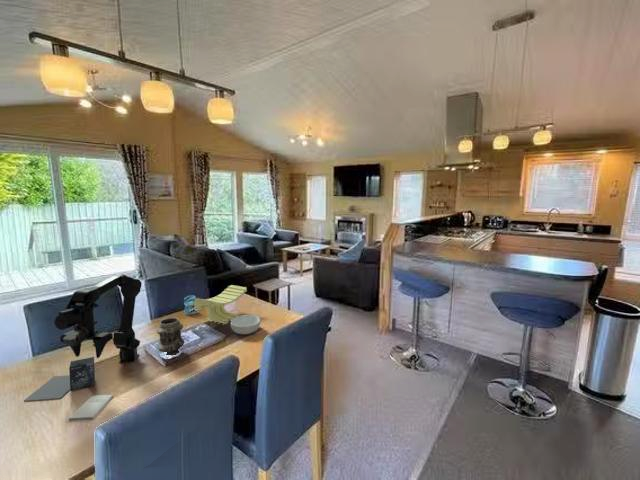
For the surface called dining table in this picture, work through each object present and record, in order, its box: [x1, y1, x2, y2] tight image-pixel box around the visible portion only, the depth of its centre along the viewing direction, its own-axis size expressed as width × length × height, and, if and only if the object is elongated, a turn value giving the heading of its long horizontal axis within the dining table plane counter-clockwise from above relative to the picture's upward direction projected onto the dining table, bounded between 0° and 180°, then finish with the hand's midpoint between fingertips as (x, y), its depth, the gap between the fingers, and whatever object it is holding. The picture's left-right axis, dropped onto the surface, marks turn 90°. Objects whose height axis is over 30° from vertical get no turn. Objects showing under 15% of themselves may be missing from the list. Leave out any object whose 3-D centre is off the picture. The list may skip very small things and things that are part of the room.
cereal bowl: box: [230, 314, 261, 336], centre depth 178 cm, size 17×17×7 cm
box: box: [68, 356, 96, 391], centre depth 127 cm, size 8×6×11 cm
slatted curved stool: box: [193, 284, 248, 325], centre depth 196 cm, size 30×16×18 cm, turn 154°
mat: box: [23, 374, 71, 402], centre depth 127 cm, size 13×16×1 cm
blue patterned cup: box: [183, 294, 200, 316], centre depth 205 cm, size 8×8×12 cm
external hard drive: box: [68, 394, 114, 422], centre depth 115 cm, size 2×8×12 cm
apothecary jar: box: [155, 317, 185, 355], centre depth 152 cm, size 12×12×18 cm
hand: (88, 357), depth 126 cm, fingers open, 9 cm apart
